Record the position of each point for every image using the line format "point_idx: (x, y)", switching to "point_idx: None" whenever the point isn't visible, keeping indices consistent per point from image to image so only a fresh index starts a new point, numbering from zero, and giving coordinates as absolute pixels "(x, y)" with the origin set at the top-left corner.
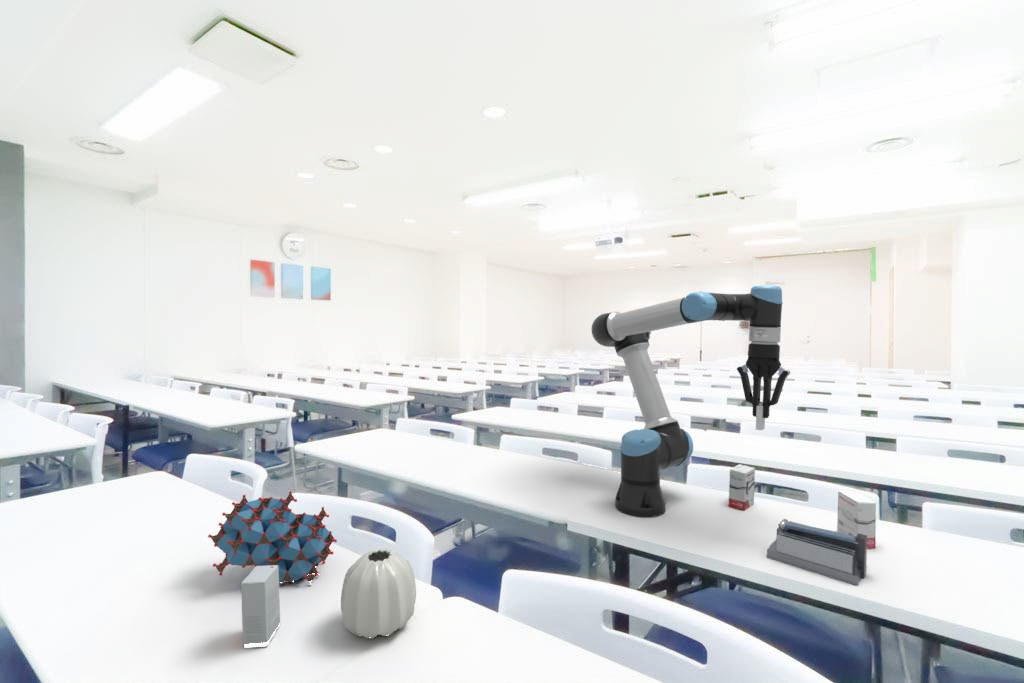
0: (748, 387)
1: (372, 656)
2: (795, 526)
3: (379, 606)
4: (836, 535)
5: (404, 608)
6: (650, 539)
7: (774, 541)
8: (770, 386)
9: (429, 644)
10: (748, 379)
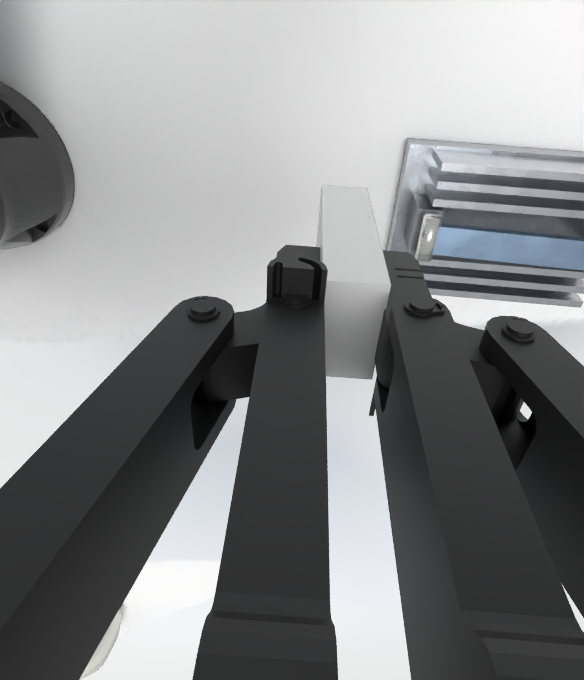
0: (156, 511)
1: (131, 615)
2: (461, 256)
3: (111, 649)
4: (566, 268)
5: (113, 625)
6: (151, 328)
7: (397, 215)
8: (518, 533)
9: (148, 597)
10: (47, 605)
